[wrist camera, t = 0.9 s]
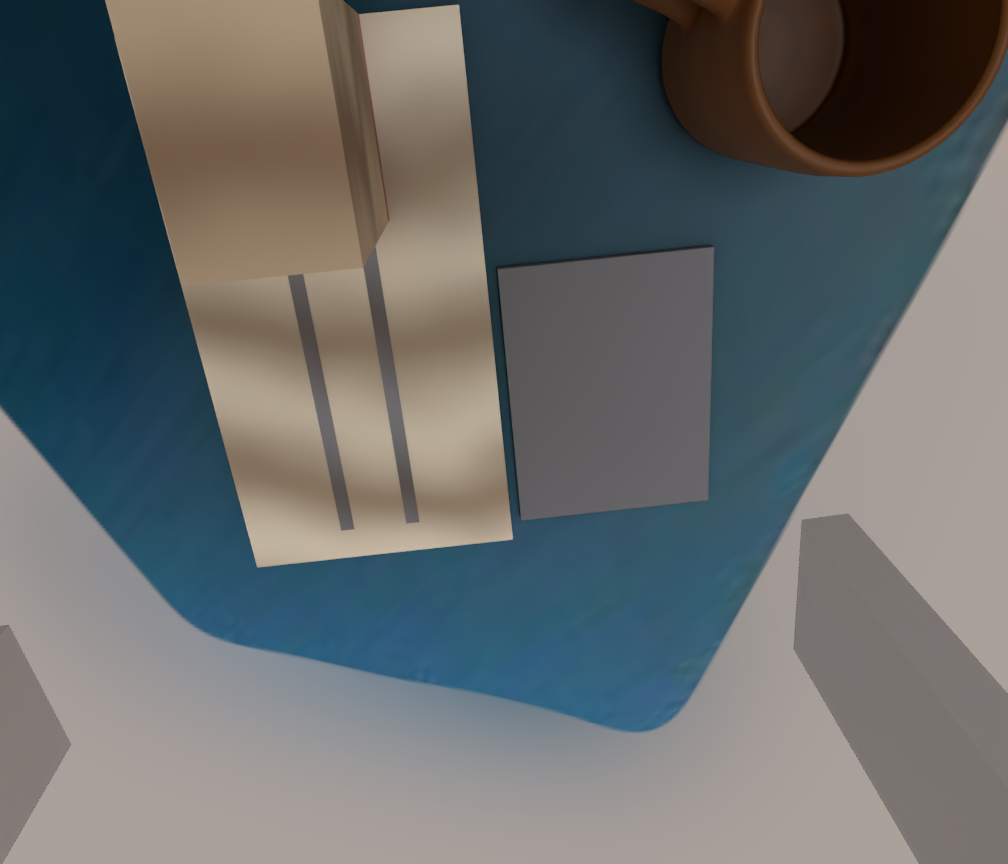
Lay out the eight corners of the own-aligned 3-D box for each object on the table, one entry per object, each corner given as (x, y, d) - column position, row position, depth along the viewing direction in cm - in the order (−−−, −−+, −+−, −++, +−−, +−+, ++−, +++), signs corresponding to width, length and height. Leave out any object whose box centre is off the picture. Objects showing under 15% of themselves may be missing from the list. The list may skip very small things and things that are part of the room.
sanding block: (215, 28, 26) (103, -6, 18) (358, 13, 26) (314, -26, 18) (260, 233, 29) (182, 286, 21) (389, 220, 29) (363, 267, 21)
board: (128, 40, 27) (113, 37, 26) (458, 8, 27) (459, 4, 26) (263, 553, 36) (257, 567, 35) (511, 526, 36) (512, 539, 35)
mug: (518, 77, 28) (544, 67, 20) (593, -155, 26) (663, -285, 17) (793, 186, 31) (925, 220, 22) (890, -17, 28) (1085, -70, 19)
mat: (497, 267, 31) (497, 269, 31) (711, 245, 31) (714, 247, 31) (520, 516, 36) (521, 520, 36) (705, 496, 36) (708, 500, 36)
